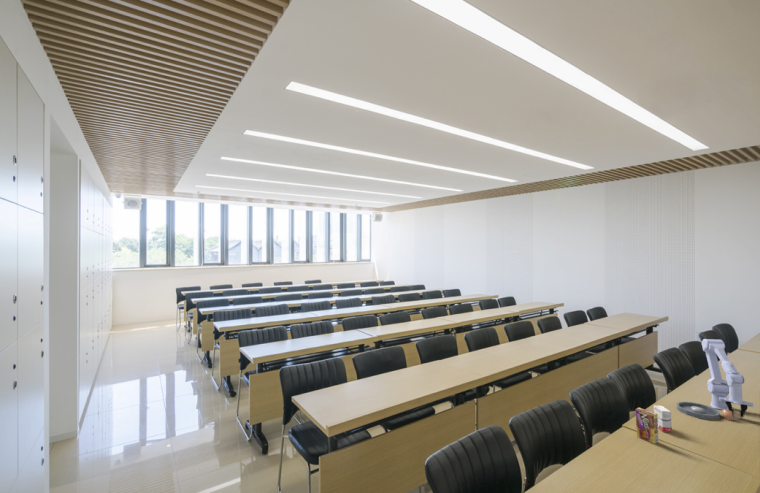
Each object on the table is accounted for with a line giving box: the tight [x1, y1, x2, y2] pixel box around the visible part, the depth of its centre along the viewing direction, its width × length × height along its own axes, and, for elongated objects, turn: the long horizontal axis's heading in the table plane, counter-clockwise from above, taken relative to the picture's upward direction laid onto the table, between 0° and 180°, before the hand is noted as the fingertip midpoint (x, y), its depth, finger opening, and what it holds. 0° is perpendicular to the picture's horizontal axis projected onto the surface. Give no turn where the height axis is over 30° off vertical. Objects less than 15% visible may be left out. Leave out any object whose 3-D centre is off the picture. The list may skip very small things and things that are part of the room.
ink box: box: [653, 404, 673, 433], centre depth 198 cm, size 9×5×12 cm, turn 168°
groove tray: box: [676, 401, 721, 421], centre depth 218 cm, size 20×20×3 cm
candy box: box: [635, 407, 659, 445], centre depth 187 cm, size 9×4×15 cm, turn 26°
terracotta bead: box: [722, 409, 733, 422], centre depth 209 cm, size 4×4×5 cm
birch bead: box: [732, 407, 742, 421], centre depth 210 cm, size 4×4×5 cm
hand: (736, 415), depth 210 cm, fingers closed on birch bead, 4 cm apart
